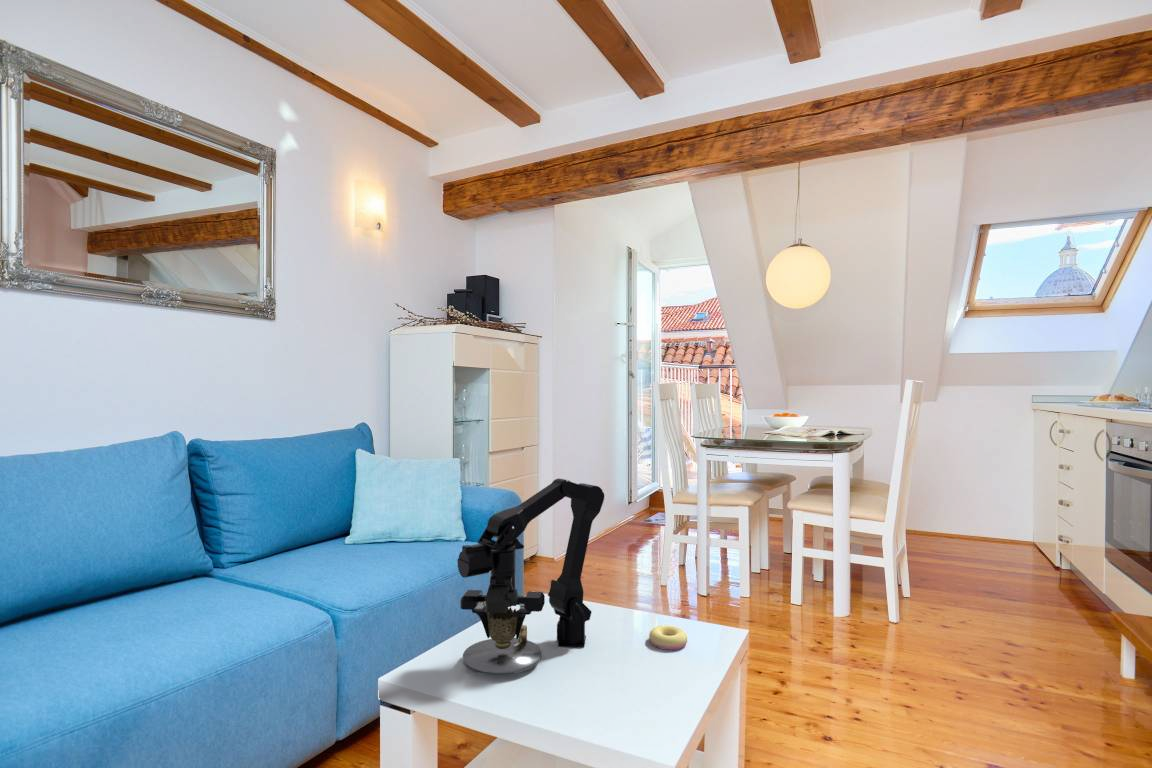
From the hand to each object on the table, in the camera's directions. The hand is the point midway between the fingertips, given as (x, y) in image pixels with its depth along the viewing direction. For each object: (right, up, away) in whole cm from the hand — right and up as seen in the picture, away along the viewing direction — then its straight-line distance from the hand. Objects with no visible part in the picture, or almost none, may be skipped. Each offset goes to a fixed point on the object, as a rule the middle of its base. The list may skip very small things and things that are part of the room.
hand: (502, 637), depth 138 cm
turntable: (0, -4, 0) cm, 4 cm away
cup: (0, -2, 0) cm, 2 cm away
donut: (+40, -7, +12) cm, 42 cm away
